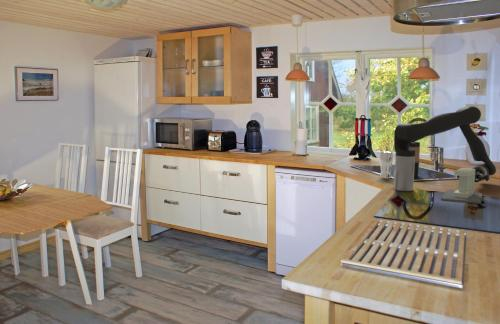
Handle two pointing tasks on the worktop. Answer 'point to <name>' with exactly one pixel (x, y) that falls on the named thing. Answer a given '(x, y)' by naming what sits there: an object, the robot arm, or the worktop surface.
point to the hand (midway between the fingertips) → (469, 177)
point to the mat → (472, 199)
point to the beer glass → (386, 164)
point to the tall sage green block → (465, 182)
